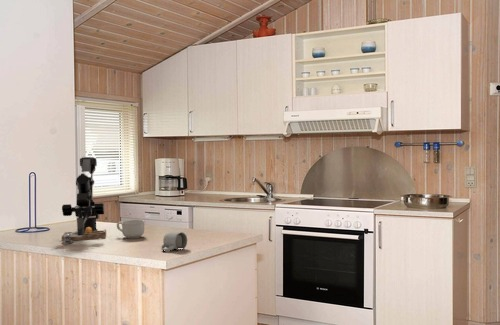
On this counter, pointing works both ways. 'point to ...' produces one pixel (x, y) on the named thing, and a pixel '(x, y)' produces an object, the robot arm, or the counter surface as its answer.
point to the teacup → (132, 228)
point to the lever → (79, 229)
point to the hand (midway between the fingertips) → (82, 223)
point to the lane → (88, 235)
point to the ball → (88, 230)
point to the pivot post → (67, 241)
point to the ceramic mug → (174, 241)
